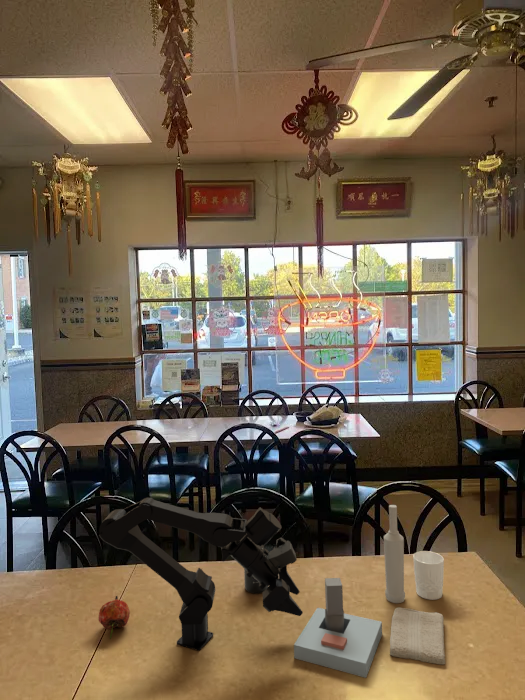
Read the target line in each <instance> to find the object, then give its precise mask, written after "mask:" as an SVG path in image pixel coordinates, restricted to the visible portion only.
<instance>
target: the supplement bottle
mask: <svg viewBox="0 0 525 700" xmlns="http://www.w3.org/2000/svg"><path fill="white" fill-rule="evenodd" d="M257 546H258V547H259V548H260V549H261V550H262V549H263V548H264V549H265V545H262V546H259V545H257ZM243 569H244V568H243ZM243 573H244V575H243V577H244V580H243V581H244V588H245V591H246V592H248V593H251V594H263V592H264V591H265V590H266V589H267V588H268V587H269V586H266V587H265V588H264V589H263V590H262V589H261V588H260V587H259V582H258V581H257V580H256V579H255V578H254V577H253V576H251V577H250V578H249V577H248V576H247V575H246V573H247V571H246V570H245V569H244V571H243Z"/></svg>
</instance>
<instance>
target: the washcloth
mask: <svg viewBox="0 0 525 700" xmlns="http://www.w3.org/2000/svg"><path fill="white" fill-rule="evenodd" d="M444 628H445V627H444V616H443V614H442V613H439V612H437V611H435V612H427V611H426V612H425V611H424V610H423V611H422V610H421V611H420V610H416V609H412V608H404V607H396V608H395V609H394V611H393V615H392V616H391V628H390V638H389V645H390V646H389V655H390V656H392V657H394V658H401V659H409V660H410V659H411V660H415V661H420V662H423V663H428V664H429V663H430V664H437V665H442V666H443V665H446V654H445V644H444V643H445V641H444V640H445V634H444V633H445V631H444V630H445V629H444Z"/></svg>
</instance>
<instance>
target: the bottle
mask: <svg viewBox="0 0 525 700" xmlns="http://www.w3.org/2000/svg"><path fill="white" fill-rule="evenodd" d="M397 509H398V507H397V505H396V504H390V505H388V513H389V515H388V517H389V519H388V521H389V522H388V523H389V530H388V532H387V533H386V534H384V535H383V550H384V551H383V552H384V570H385V590H384V593H385V598H386V600H387V601H388V602H390V603H393V604H401V603H403V602H404V601H405V599H406V591H405V556H404V555H405V552H404V550H405V549H404V548H405V539H404V536H403V535H401V534H400V533H399V530H398V510H397Z"/></svg>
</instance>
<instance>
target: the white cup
mask: <svg viewBox="0 0 525 700" xmlns="http://www.w3.org/2000/svg"><path fill="white" fill-rule="evenodd" d="M412 555H413V556H412V558H413V559H412V560H413V573H414V582H415V591H416V594H417V595H418V596H419V597H420V598H423V599H425V600H429V601H430V600H431V601H432V600H433V601H434V600H439V599H441V598H442V597H443V591H444V589H443V587H444V567H445V566H444V565H445V564H444V563H445V558H444V557H443V555H441V553H440V554H439V553H437V552H435V551H430V550H429V551H428V550H421V551H417V552H416V551H415V552H414V553H413V554H412Z"/></svg>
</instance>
